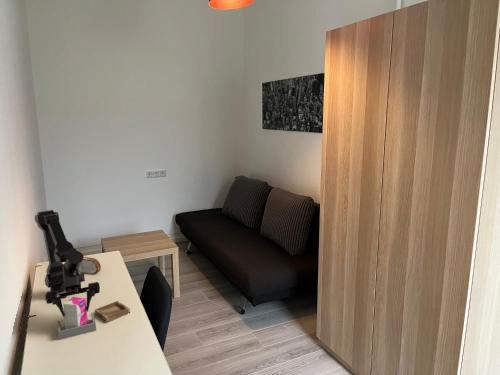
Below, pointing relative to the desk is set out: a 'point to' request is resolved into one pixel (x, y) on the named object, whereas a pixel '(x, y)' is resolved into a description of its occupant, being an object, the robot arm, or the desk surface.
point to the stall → (76, 329)
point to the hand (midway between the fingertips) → (75, 313)
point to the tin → (89, 266)
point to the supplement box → (75, 312)
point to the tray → (112, 311)
